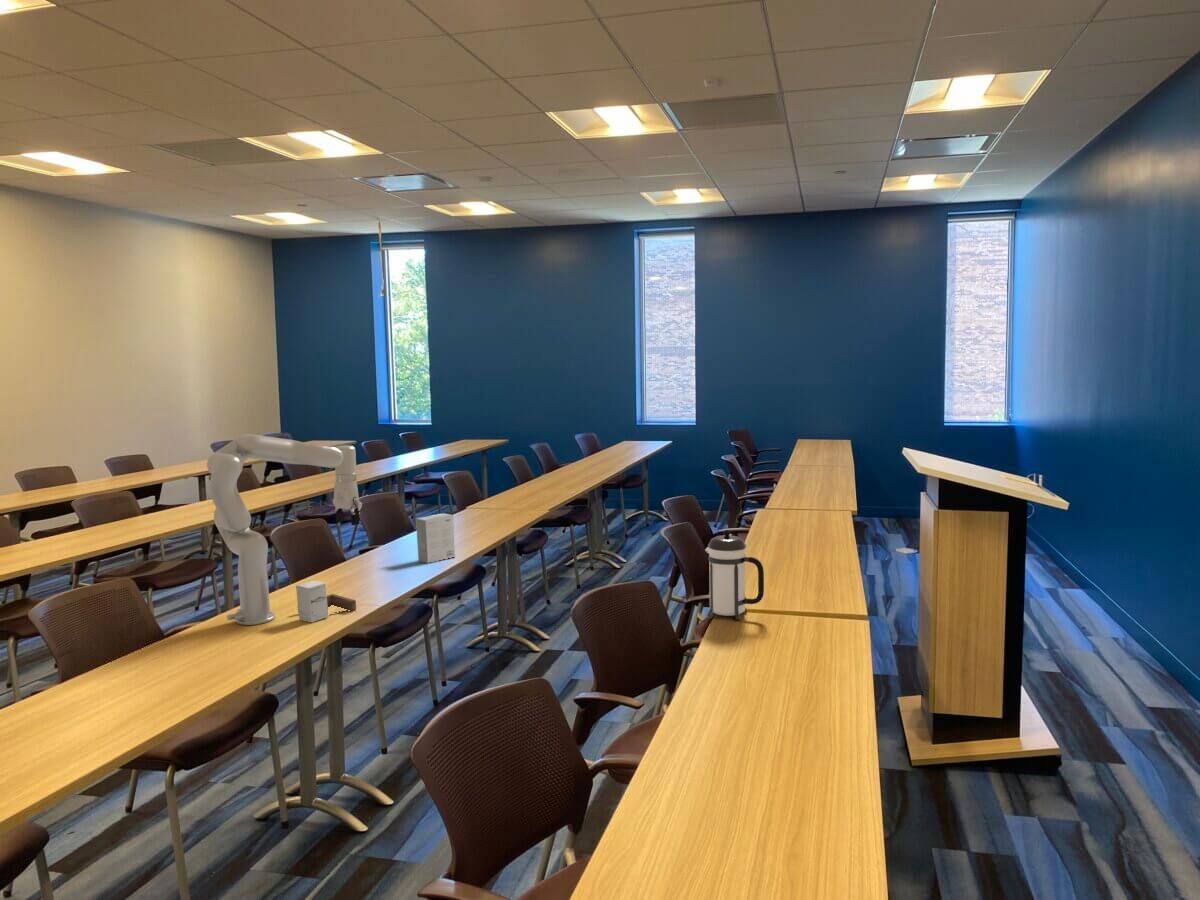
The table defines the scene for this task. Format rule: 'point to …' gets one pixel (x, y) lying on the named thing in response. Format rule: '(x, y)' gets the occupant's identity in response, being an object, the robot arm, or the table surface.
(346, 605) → the arena
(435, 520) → the hard drive box
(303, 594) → the supplement box
